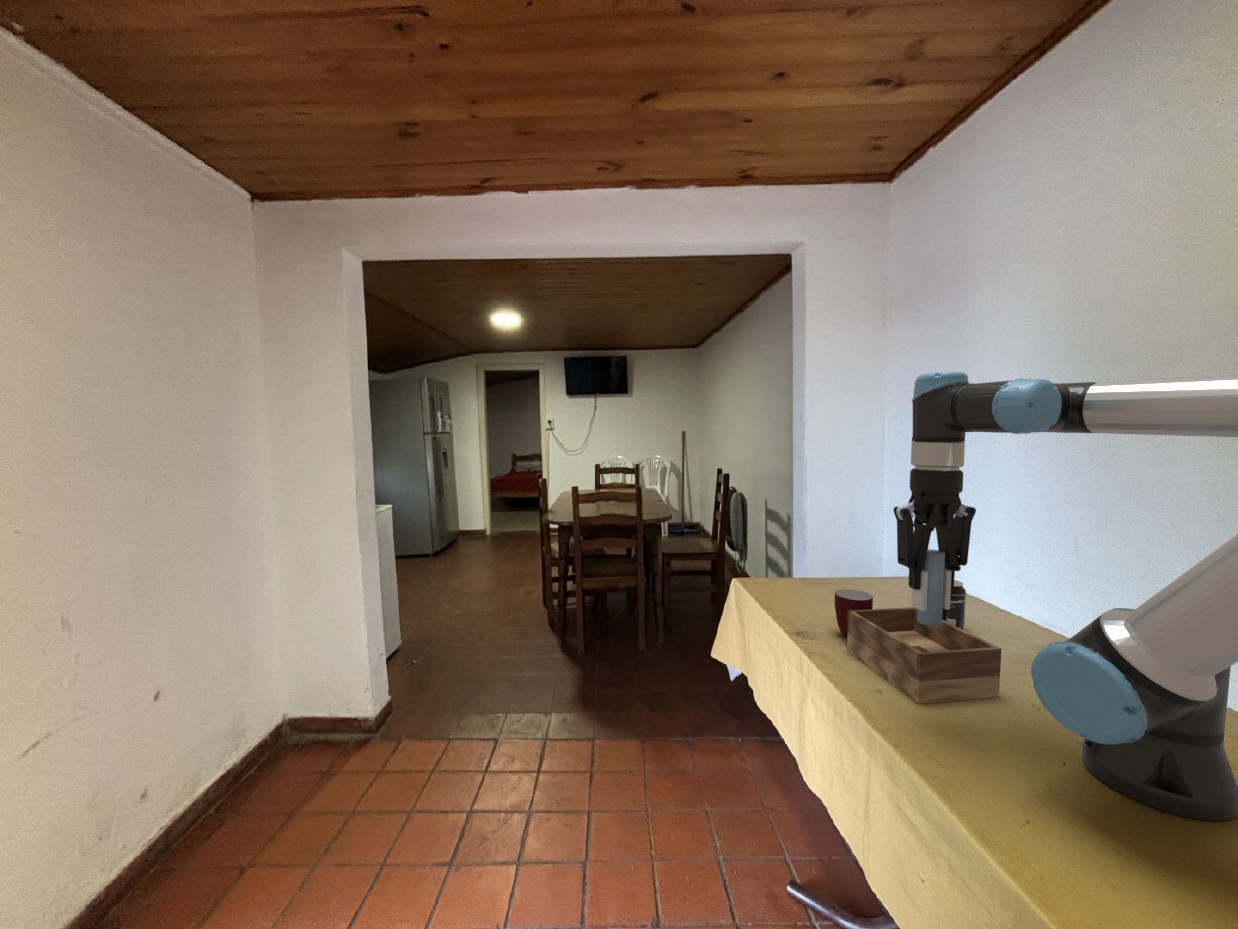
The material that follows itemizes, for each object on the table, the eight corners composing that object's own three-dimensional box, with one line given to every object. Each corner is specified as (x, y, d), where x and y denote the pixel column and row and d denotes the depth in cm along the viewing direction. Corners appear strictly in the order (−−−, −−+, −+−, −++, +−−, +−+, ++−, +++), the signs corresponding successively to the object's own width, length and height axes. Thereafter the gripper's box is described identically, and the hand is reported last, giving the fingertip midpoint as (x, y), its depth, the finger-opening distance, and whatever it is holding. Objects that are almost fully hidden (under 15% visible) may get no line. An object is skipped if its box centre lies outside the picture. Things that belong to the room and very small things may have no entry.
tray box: (998, 697, 95) (1001, 648, 94) (918, 704, 93) (920, 654, 92) (913, 646, 117) (915, 607, 116) (846, 651, 114) (848, 610, 114)
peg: (947, 625, 87) (950, 554, 86) (927, 626, 86) (930, 554, 86) (931, 617, 90) (934, 549, 90) (912, 618, 90) (915, 549, 89)
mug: (872, 650, 115) (874, 605, 114) (832, 644, 118) (834, 600, 117) (870, 633, 124) (872, 591, 123) (833, 628, 127) (835, 587, 127)
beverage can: (928, 624, 130) (930, 576, 129) (961, 628, 127) (963, 579, 126) (931, 633, 124) (934, 583, 123) (966, 638, 121) (968, 587, 120)
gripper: (964, 465, 91) (957, 598, 93) (875, 466, 89) (870, 602, 91) (1000, 469, 84) (993, 612, 86) (905, 470, 82) (899, 617, 83)
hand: (930, 607), depth 88 cm, fingers closed on peg, 3 cm apart
